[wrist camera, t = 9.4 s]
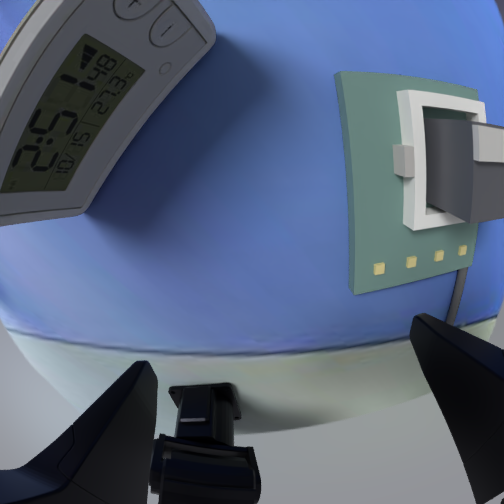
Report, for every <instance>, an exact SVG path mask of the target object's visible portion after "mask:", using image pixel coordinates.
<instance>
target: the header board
mask: <svg viewBox="0 0 504 504" xmlns="http://www.w3.org/2000/svg"><path fill="white" fill-rule="evenodd" d="M334 78H335V84H336V90H337V96H338V103H339V110H340V118H341V126H342V135H343V144H344V154H345V166H346V179H347V195H348V218H349V288H350V290H351V292H352V293H353V295H357V294H362V293H366V292H371V291H376V290H380V289H384V288H389V287H393V286H397V285H401V284H405V283H410V282H414V281H418V280H421V279H425V278H429V277H433V276H437V275H440V274H444V273H448V272H451V271H455V270H458V269H462V268H465V267H469V266H472V262H473V256H474V251H475V245H476V238H477V231H478V223H473V224H469V223H467V222H465V221H463V220H461V219H460V218H458V217H456V216H454V215H452V214H450V213H448V212H446V211H444V210H442V209H440V208H438V207H436V206H434V205H432V204H430V203H428V202H426V148H425V132H424V120H423V118H430V119H452V120H466V121H475V122H481V123H486V115H485V105H484V102H480V101H479V99H478V92H477V89H473V88H469V87H465V86H461V85H456V84H452V83H447V82H442V81H437V80H431V79H425V78H418V77H411V76H404V75H395V74H385V73H372V72H352V71H340V72H338V73H336V74H334Z"/></svg>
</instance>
